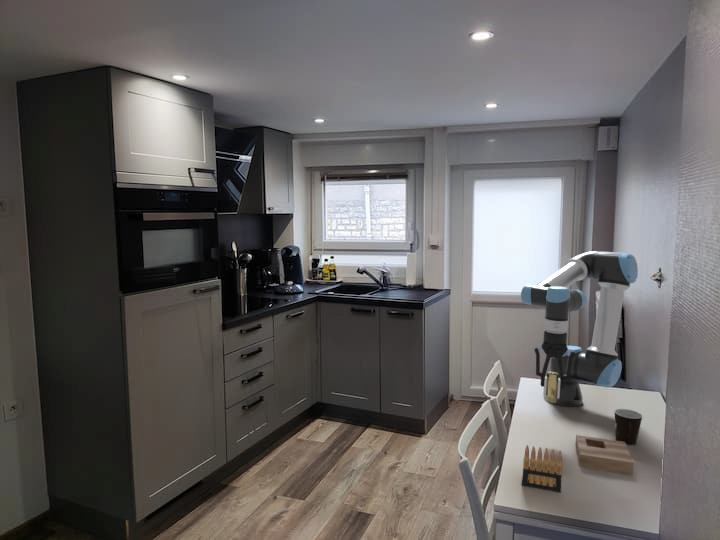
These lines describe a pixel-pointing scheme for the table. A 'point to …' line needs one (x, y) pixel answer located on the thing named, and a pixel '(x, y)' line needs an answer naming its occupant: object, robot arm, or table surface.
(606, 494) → the table surface
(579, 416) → the table surface
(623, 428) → the coffee mug
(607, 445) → the block
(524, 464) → the ammunition clip
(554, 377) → the tan cylinder
